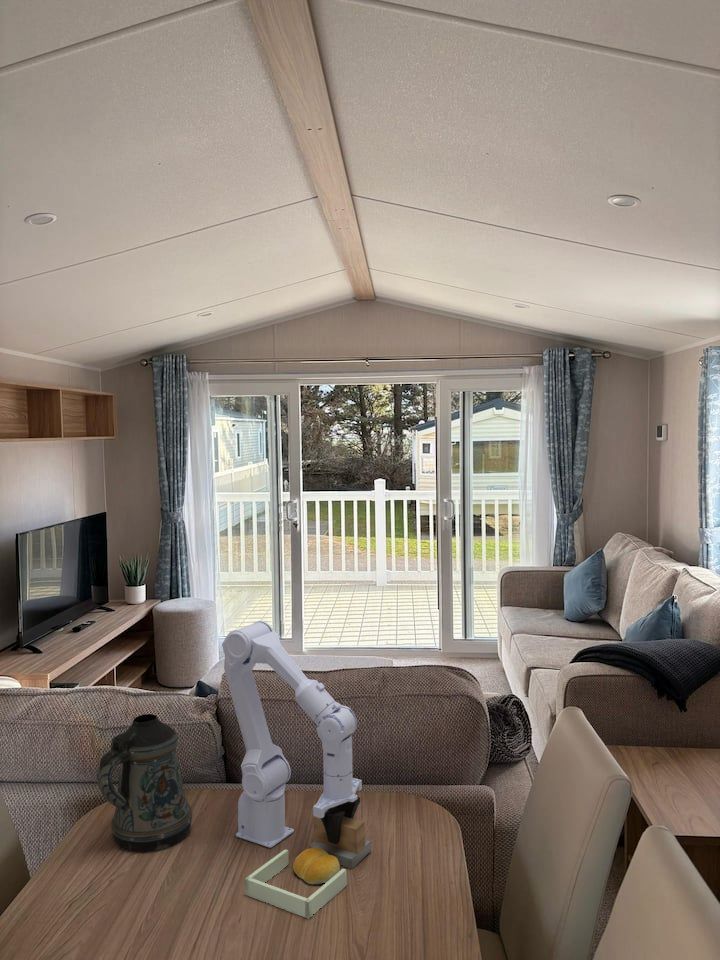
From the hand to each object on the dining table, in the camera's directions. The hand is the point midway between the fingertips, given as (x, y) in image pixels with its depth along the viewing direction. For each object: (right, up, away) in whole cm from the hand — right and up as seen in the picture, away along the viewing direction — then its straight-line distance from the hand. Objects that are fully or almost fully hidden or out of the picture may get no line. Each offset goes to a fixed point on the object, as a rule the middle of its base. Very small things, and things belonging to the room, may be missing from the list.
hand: (338, 837), depth 160 cm
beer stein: (-40, -4, +8) cm, 41 cm away
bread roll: (-4, -4, -6) cm, 8 cm away
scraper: (0, -3, +1) cm, 3 cm away
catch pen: (-8, -4, -12) cm, 15 cm away
